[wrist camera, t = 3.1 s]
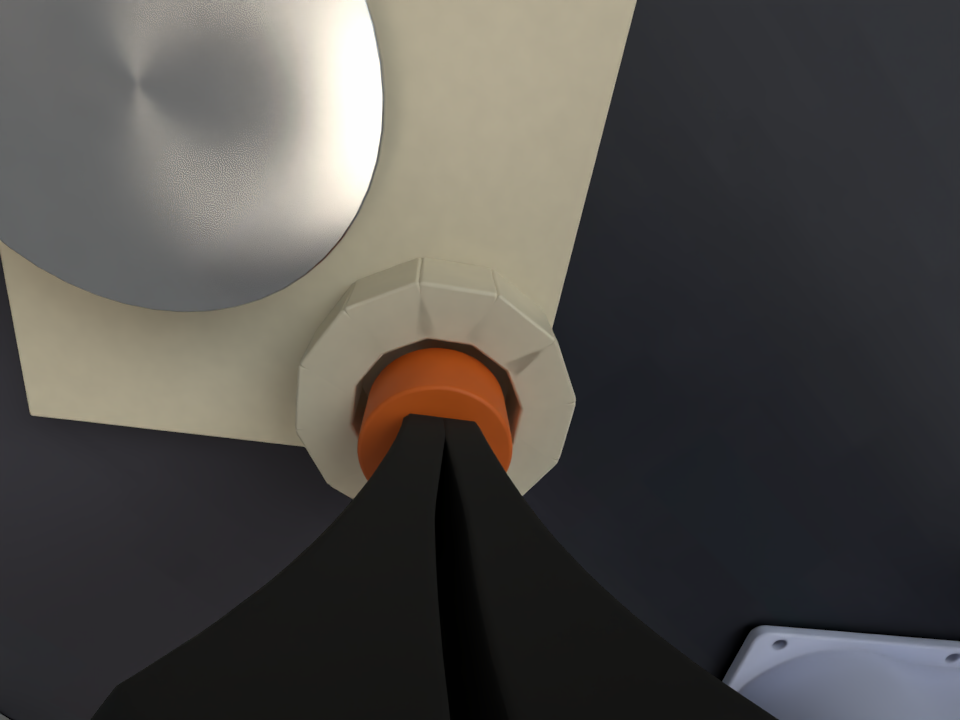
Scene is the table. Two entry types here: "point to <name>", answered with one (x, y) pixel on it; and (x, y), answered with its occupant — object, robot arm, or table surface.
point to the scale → (380, 256)
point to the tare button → (433, 402)
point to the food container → (3, 717)
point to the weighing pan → (186, 142)
